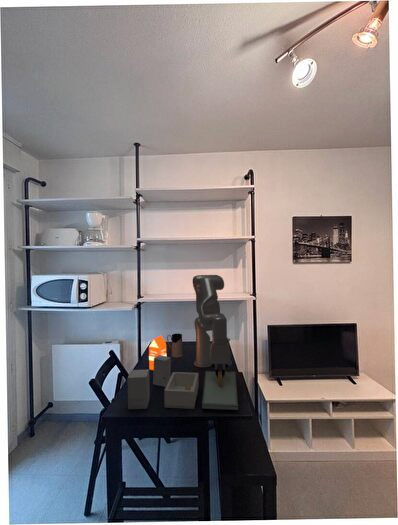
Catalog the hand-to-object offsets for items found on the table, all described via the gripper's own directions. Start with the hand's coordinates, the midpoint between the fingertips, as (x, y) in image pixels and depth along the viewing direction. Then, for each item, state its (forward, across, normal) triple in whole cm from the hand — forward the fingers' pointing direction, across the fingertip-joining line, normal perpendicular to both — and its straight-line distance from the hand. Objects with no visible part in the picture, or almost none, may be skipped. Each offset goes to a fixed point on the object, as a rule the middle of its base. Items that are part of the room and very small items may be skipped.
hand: (220, 376), depth 129 cm
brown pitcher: (+9, +35, -55) cm, 66 cm away
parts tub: (+10, +19, +3) cm, 22 cm away
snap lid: (+5, 0, +3) cm, 6 cm away
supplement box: (+10, +39, +11) cm, 42 cm away
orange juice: (+9, +41, -31) cm, 53 cm away
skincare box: (+10, +33, -10) cm, 36 cm away
